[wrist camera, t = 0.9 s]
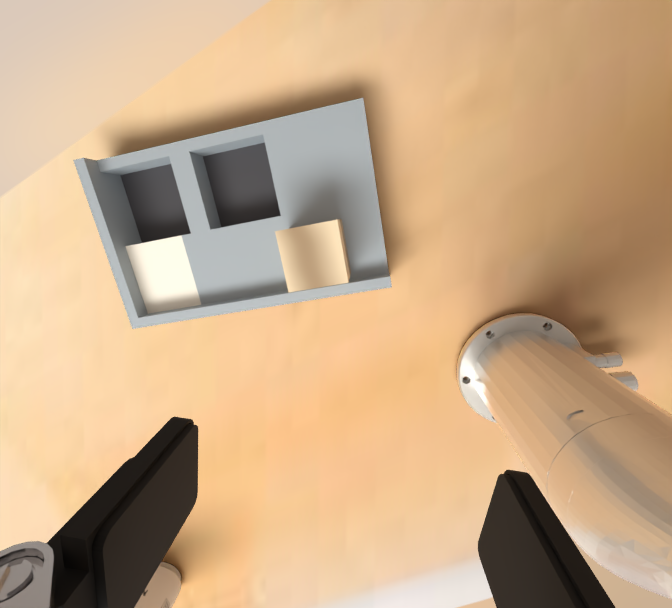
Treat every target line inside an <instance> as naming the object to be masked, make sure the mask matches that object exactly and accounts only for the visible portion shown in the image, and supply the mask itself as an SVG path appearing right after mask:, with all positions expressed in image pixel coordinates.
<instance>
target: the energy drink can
mask: <svg viewBox="0 0 672 608" xmlns="http://www.w3.org/2000/svg"><path fill="white" fill-rule="evenodd" d="M180 581H181V575H180V572H179V571H178V570H177V569H176V568H175V567H174V566H173V565H171V564H169V563H165V562H161V563H160V565H159V566H158V568H157V570H156V572H155V573H154V575H153V577H152V578H151V580H150V582H149V583H148V585H147V587H146V589H145V590H144V592H143V594H142V595H141V597H140V599H139V601H138V602H137V604H136V606H135V607H134V608H172V606H173V604H174V602H175V600H176V598H177V596H178V594H179V592H180V589H181V582H180Z"/></svg>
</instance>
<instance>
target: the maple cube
mask: <svg viewBox="0 0 672 608" xmlns="http://www.w3.org/2000/svg"><path fill="white" fill-rule="evenodd" d="M275 234H276V239H277V243H278V248H279V252H280V256H281V261H282V265H283V270H284V274H285V279H286V283H287V288H288V292H295V291H301V290H307V289H313V288H319V287H326V286H332V285H338V284H344V283H349V279H350V275H351V270H350V264H349V258H348V252H347V247H346V241H345V235H344V229H343V224H342V219H337V220H332V221H327V222H321V223H316V224H311V225H306V226H300V227H295V228H290V229H285V230H279V231H275Z"/></svg>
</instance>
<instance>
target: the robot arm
mask: <svg viewBox="0 0 672 608" xmlns="http://www.w3.org/2000/svg"><path fill="white" fill-rule="evenodd" d="M544 324H545V325H544ZM543 325H544V326H543ZM488 331H489V333H488V334H486V333H487V332H488ZM622 363H623V360H622V357H621V355H620V354H619V353H618V352H610V353H602V354H600V355H592V354H590V353H588V352H586V351H585V350H583V349H582V347H581V345H580V343H579V341H578V340H577V338H576V337H575V336H574V334H573V333H572V332H571V331H569V330H568V329H567V328H566V327H565V326H563V325H562V324H560V323H558V322H557V321H555V320H552V319H550V318H548V317H545V316H542V315H537V314H533V313H517V314H510V315H506V316H503V317H500V318H497V319H494V320H492V321H491V322H489V323H487V324H485V325H484V326H482V327H481V328H480V329H478V330H477V331H476V332H475V333H474V334H473V335H472V336H471V337H470V338H469V339H468V340H467V342H466V344H465V345H464V347H463V348H462V350H461V353H460V355H459V358H458V362H457V368H456V373H457V382H458V386H459V389H460V391H461V393H462V395H463V397H464V399H465V400H466V402H467V403H468V405H469V406H470V407H471V408H472V409H473V410H474V411H475V412H476V413H477V414H479V415H481V416H482V417H484V418H485V419H487V420H490V421H492V422H495V423H498V425H499V427H500V428H501V430H502V431H503V433H504V434H505V436H506V438H507V439H508V441H509V442H510V444H511V445H512V447H513V448H514V450H515V452H516V453H517V455H518V456H519V458H520V459H521V461H522V463H523V464H524V466H525V467H526V469H527V470H528V472H529V473H530V475H531V476H530V475H529V474H528V473H525V472H519V471H513V470H506V471H505V472H504V474H500V475H499V476H498V479H497V482H496V486H495V489H494V492H493V495H492V499H491V502H490V505H489V508H488V512H487V515H486V518H485V521H484V525H483V528H482V531H481V534H480V538H479V541H478V552H479V557H480V560H481V563H482V566H483V569H484V572H485V574H486V577H487V580H488V583H489V586H490V589H491V592H492V595H493V598H494V601H495V604H496V607H497V608H615V606H614V605H613V603H612V601H611V600H610V598H609V597H608V595H607V594H606V592H605V591H604V589H603V587H602V586H601V584H600V583H599V581H598V580H597V578H596V577H595V575H594V573H593V572H592V570H591V569H590V567H589V566H588V564H587V563H586V561H585V559H584V558H583V556H582V555H581V553H580V552H579V550H578V549H577V547H576V545H575V544H574V542H573V541H572V539H571V538H570V536H571V537H572V538H573V540H574V541H575V542H576V543H577V544H578V545H579V546H580V548H581V549H582V550H583V551H584V552H585V553H587V554H588V555H589V556H590V557H591V558H592V559H593V560H594V561H596V562H597V563H598V564H599V565H601V566H602V567H604V568H605V569H607V570H608V571H610V572H612V573H613V574H615V575H617V576H618V577H620V578H622V579H624V580H626V581H628V582H630V583H633V584H635V585H637V586H639V587H642V588H644V589H646V590H649V591H651V592H654V593H656V594H659V595H662V596H664V597H667V598H670V599H672V415H671V414H670V413H668V412H667V411H665V410H664V409H662V408H660V407H659V406H657V405H656V404H654V403H653V402H651V401H650V400H648V399H647V398H645V397H643V396H642V395H640V394H639V393H637V392H636V390H637V389H638V382H637V379H636V377H635V376H634V375H633V374H632V373H631V372H628V371H624V372H615V373H606V372H605V371H603V370H602V369H600V368H610V367H618V366H621V365H622ZM464 377H465V378H464ZM534 481H535V482H534ZM536 484H537V485H536ZM197 493H198V426H197V425H194V422H193V420H191V419H186V418H179V417H172V418H171V419H170V420H169V421H168V422H167V423H166V424H165V425H164V426H163V427H162V428H161V430H160V431H159V432H158V433H157V434H156V435H155V436H154V437H153V438H152V439H151V440H150V441H149V442H148V443H147V444H146V445H145V446H144V447H143V448H142V449H141V451H140V452H139V453H138V454H137V455H136V456H135V457H133V458H131V459H129V460H128V461H126V462H125V463H124V464H123V465H122V466H121V467H120V468H119V469H118V470H117V471H116V472H115V473H114V474H113V475H112V476H111V477H110V478H109V480H108V481H107V482H106V483H105V484H104V485H103V486H102V487H101V488H100V489H99V490H98V491H97V492H96V493H95V494H94V495H93V496H92V497H91V498H90V499H89V500H88V501H87V502H86V503H85V504H84V505H83V506H82V507H81V508H80V509H79V510H78V511H77V513H76V514H75V515H74V516H73V517H72V518H71V519H70V520H69V521H68V522H67V523H66V524H65V525H64V526H63V527H62V528H61V529H60V530H59V531H58V532H57V533H56V534H55V535H54V536H53V537H52V538H51V539H50V540H49V541H48V542H47V543H43V542H39V541H36V542H25V543H21V544H17V545H14V546H11V547H9V548H7V549H5V550H2V551H0V608H134V607H135V606H136V604H137V602H138V601H139V599H140V597H141V595H142V594H143V592H144V590H145V589H146V587H147V585H148V583H149V582H150V580H151V578H152V577H153V575H154V573H155V572H156V570H157V568H158V566H159V565H160V563H161V561H162V560H163V558H164V556H165V555H166V553H167V551H168V549H169V548H170V546H171V544H172V543H173V541H174V539H175V537H176V536H177V534H178V532H179V531H180V529H181V527H182V526H183V524H184V522H185V520H186V519H187V517H188V515H189V514H190V512H191V510H192V508H193V507H194V504H195V502H196V499H197ZM543 495H544V496H543ZM545 498H546V499H545ZM552 509H553V510H552ZM556 515H557V516H556ZM558 518H559V519H558ZM560 521H561V522H560ZM561 523H562V524H563V525H562V524H561ZM563 526H564V527H565V528H564V527H563ZM565 529H566V530H567V531H566V530H565ZM567 532H568V533H569V534H570V536H569V534H568V533H567Z"/></svg>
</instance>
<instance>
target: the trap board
mask: <svg viewBox="0 0 672 608" xmlns="http://www.w3.org/2000/svg"><path fill="white" fill-rule="evenodd" d="M74 163H75V166H76V169H77V172H78V175H79V177H80V180H81V183H82V186H83V189H84V192H85V195H86V197H87V200H88V203H89V206H90V209H91V212H92V215H93V217H94V220H95V223H96V226H97V229H98V232H99V235H100V237H101V240H102V243H103V246H104V249H105V252H106V255H107V257H108V260H109V263H110V266H111V269H112V272H113V275H114V277H115V280H116V283H117V286H118V289H119V292H120V295H121V297H122V300H123V303H124V306H125V309H126V312H127V315H128V317H129V320H130V323H131V326H132V329H134V328H141V327H147V326H153V325H159V324H165V323H172V322H178V321H184V320H190V319H197V318H203V317H209V316H215V315H221V314H228V313H234V312H240V311H246V310H253V309H259V308H265V307H271V306H278V305H284V304H290V303H296V302H302V301H309V300H315V299H321V298H327V297H334V296H340V295H346V294H352V293H358V292H365V291H371V290H377V289H383V288H390V287H392V286H391V279H390V275H389V271H388V264H387V257H386V250H385V243H384V236H383V230H382V223H381V216H380V209H379V202H378V195H377V189H376V182H375V175H374V168H373V161H372V154H371V148H370V141H369V134H368V127H367V120H366V113H365V107H364V100H363V98H360V99H355V100H351V101H347V102H343V103H339V104H334V105H330V106H326V107H322V108H317V109H313V110H309V111H305V112H300V113H296V114H292V115H288V116H284V117H279V118H275V119H271V120H267V121H262V122H258V123H254V124H250V125H245V126H241V127H237V128H233V129H228V130H224V131H220V132H216V133H212V134H207V135H203V136H199V137H195V138H190V139H186V140H182V141H178V142H173V143H169V144H165V145H161V146H157V147H152V148H148V149H144V150H140V151H135V152H131V153H127V154H123V155H118V156H114V157H110V158H106V159H101V160H97V161H96V160H91V159H86V158H81V159H77V160H74ZM337 219H342V224H343V229H344V235H345V241H346V247H347V252H348V258H349V264H350V270H351V275H350V279H349V283H344V284H338V285H332V286H326V287H319V288H313V289H307V290H301V291H295V292H288V288H287V283H286V279H285V274H284V270H283V265H282V261H281V256H280V252H279V248H278V243H277V239H276V234H275V231H279V230H285V229H290V228H295V227H300V226H306V225H311V224H316V223H321V222H327V221H332V220H337Z"/></svg>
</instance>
